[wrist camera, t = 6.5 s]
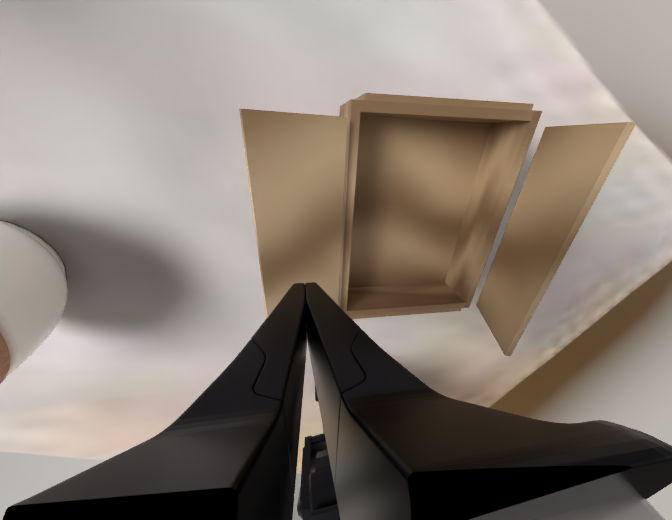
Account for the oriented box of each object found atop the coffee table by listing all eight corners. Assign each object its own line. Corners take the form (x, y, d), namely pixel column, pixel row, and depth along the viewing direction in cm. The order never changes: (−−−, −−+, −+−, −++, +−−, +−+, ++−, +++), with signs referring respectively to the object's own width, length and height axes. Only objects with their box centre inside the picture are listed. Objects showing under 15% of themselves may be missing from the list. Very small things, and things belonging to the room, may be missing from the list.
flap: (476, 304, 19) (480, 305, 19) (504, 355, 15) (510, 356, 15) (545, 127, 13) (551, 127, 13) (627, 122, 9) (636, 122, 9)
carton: (446, 286, 23) (469, 309, 20) (333, 293, 22) (339, 319, 18) (499, 110, 16) (546, 104, 13) (340, 100, 15) (351, 92, 12)
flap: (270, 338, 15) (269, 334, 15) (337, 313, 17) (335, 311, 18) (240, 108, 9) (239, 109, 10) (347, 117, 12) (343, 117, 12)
